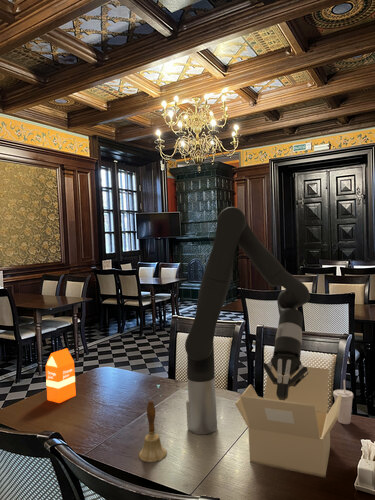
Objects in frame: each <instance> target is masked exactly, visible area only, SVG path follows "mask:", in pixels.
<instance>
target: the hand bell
mask: <svg viewBox="0 0 375 500" xmlns="http://www.w3.org/2000/svg"><path fill="white" fill-rule="evenodd" d="M146 416H147V417H146V418H147V420H148V433H147V434H146V435H145V437H144V442H143V447H142V449H141V450H140V452H139V454H138V457H139V459H140V460H141V462H145V463H156V462H160V461H161V460H163V459H165V458H166V457H167V454H168V452H167V450H166V448H165V447H164V446H162V442H161V438H160V435H159V434H158V433H155V431H156V430H155V418H156V408H155V404H154V402H153V400H149V401H148V403H147V407H146Z"/></svg>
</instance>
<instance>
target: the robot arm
mask: <svg viewBox="0 0 375 500" xmlns="http://www.w3.org/2000/svg"><path fill="white" fill-rule="evenodd" d="M245 215H246V214H244V212H243V211H242V210H241V209H240V208H238V207H235V206H228V207H226V208H224V209H223V210H221V212H220V213H219V214H218V217H217V222H216V230H215V235H214V242H213V245H212V249H211V251H210V254H209V257H208V259H207V262H206V265H205V268H204V272H203V275H202V278H201V282H200V286H199V292H198V296H197V303H196V310H195V315H194V319H193V323H192V324H191V328H190V331H189V333H188V335H187V336H186V339H185V343H184V348H185V352H186V355H187V356H186V357H187V358H186V361H187V365H186V374H187V375H186V379H187V395H188V398H187V400H186V402H185V403H186V406H185V407H186V426H187V430H188V431H190V432H192V433H194V434H197V435H209V434H212V433H215V432H216V431H217V429H218V419H217V413H218V412H217V398H216V397H217V395H216V377H215V376H216V375H215V374H216V373H215V370H216V369H215V349H214V348H215V347H214V346H215V345H214V340H215V333H216V327H217V324H218V320H219V318H220V317H219V316H220V315H221V312H222V310H223V307H224V304H225V302H226V299H227V298H226V297H227V295H228V291H229V289H230V288H229V287H230V285H231V280H232V275H233V270H234V269H233V268H234V262H235V253H236V250H237V248H238V246H239V248H241V249H242V251H243V252H244V253H245V255H246V256H247V257H248V258H249V260H250V261H251V263H252V264H253V267H255V269H257V271H258V272H259V274H260V275H261V276H262V278H264V280H265V281H266V282H267V284H268V285H269V286H270V287H272V288H276V287H283V288H284V289H283V290H281V291H280V293H278V297H277V303H276V304H277V309H278V315H279V318H278V326H277V330H276V333H275V340H274V341H275V342H274V346H273V353H272V357H271V358H270V361H269V362H263V363H262V367H263V369H264V371H265V372H266V374H268V376H269V378H270V379H271V381H272V382H273V384H276V385H277V392H276V394H277V397H278V398H279V400H284V401H285V399H287V398H288V391H289V387H290V386H294V387H295V386H296V385H297V384H298V383H299V382H300V381H301V380H302V379H303V378H305V377H306V376H307V375H308V369H307V367H308V366H304V365H303V364H302V360H301V355H302V353H301V352H302V344H303V323H304V322H303V320H304V319H303V318H304V316H303V313H302V312H301V311H300V310H298V308H300V307H301V306H304V305H305V304H307V303H308V302H309V301H310V299H311V293H310V290H309V289H308V287H307V286H306V285H305V284H304V283H303V282H302V281H300V279H298V278H297V277H295V276H294V275H293V274H291V273H289V272H288V271H287V270H286V269H285V268H284V266H283V265H282V264H281V263H280V261H279V259H277V257H275V256H274V255H273V253H272V252H271V251H270V250H269V249H268V248H267V247H266V246H265V245H264V244H263V243H262V242H261V241H260V240H259V239H258V237H257V236H256V235H255V233H254V231H253V230H252V229H251V226H250V225H249V223H248V222H247V218H246V216H245ZM272 366H273V367H274V369H275V370H276V372H277V375H278V379H277V378H275V376H274V375H273V373H272ZM298 369H299V370H298ZM297 370H298V371H299V372H298V373H297V374H296V375H295V376H294V377H293V378H292V375H293V374H294V373H295V372H296V371H297ZM284 375H285V377H284ZM291 378H292V379H291ZM283 383H284V384H283Z"/></svg>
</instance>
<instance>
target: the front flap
mask: <svg viewBox="0 0 375 500" xmlns="http://www.w3.org/2000/svg"><path fill="white" fill-rule="evenodd" d="M240 397H241V400H242V403H243V406H244V410H245V413H246V416H247V419H248V422H249V425H250V428H252V429H258V430H265V431H271V432H277V433H283V434H289V435H295V436H301V437H307V438H313V439H320V434H319V428H318V422H317V416H316V410H315V404H308V403H300V402H292V401H284V400H276V399H268V398H264V397H260V396H258V397H253V396H245V395H242V394H240ZM240 397H239V398H240Z"/></svg>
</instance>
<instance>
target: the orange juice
mask: <svg viewBox="0 0 375 500" xmlns="http://www.w3.org/2000/svg"><path fill="white" fill-rule="evenodd" d="M45 378H46V379H45V381H46V383H45V384H46V398H47V401H48V402H54V403H57V404H60V403H63V402H65V401H67V400H69V399H71V398H73V397H75V396H76V395H77V394H76V393H77V392H76V390H77V389H76V372H75V361H74V359H73V357H72V355H71V352H70V351H69V349H68V348H67V347H66V348H64V349H60V350H56V351H54V352H51V353H50V355H49V357H48V359H47V362H46V364H45Z"/></svg>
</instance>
